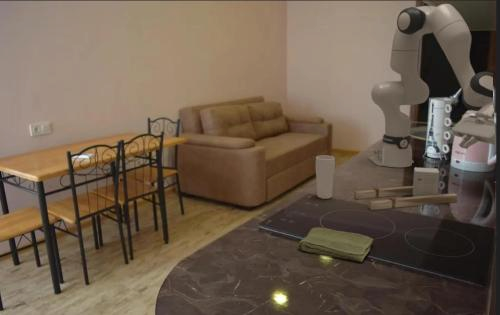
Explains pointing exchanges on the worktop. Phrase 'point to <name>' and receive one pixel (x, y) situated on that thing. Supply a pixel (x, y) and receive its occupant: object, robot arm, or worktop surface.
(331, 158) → the drinking glass
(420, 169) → the small box
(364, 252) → the washcloth
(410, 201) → the wooden track
